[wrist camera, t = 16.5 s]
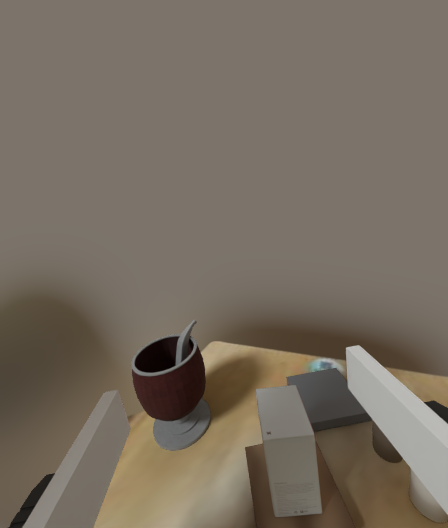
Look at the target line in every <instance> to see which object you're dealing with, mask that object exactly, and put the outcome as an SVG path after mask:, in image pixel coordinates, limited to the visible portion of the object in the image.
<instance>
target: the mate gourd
mask: <svg viewBox="0 0 448 528" xmlns="http://www.w3.org/2000/svg"><path fill="white" fill-rule="evenodd" d="M194 324H196V321H195V320H193V321H192V322H191V323H190V324H189V325H188V326H187V328H186V329H185V330H184V331H183V332H182V334H174V335H168V336H165V337H161V338H158V339H156V340H154V341H152V342H150V343H148V344H147V345H145V346H144V347H143V348H141V349H140V350H139V351H138V352H137V353H136V354H135V356H134V357H133V360H132V363H131V365H132V376H133V383H134V387H135V391H136V394H137V397H138V399H139V401H140V403H141V405H142V406H143V408H144V410H145V411H146V412H147V414H148V415H149V416H151V417H152V418H155V419H156V420H155V422H154V427H153V434H154V437H155V440H156V442H157V444H158V445H159V446H160V447H161V448H164V449H166V450H171V451H174V450H181V449H184V448H187V447H189V446H191V445H192V444H194V443H195V442H197V441H198V440H199V439H200V438H201V437H202V436H203V434H204V433H205V432H206V430H207V428H208V426H209V423H210V418H211V413H210V408H209V405H208V403H207V402H206V401H205V400H204V399H203V398H202V396H203V394H204V390H205V382H206V381H205V367H204V362H203V358H202V355H201V353H200V350H199V348H198V346H197V343H196V340H195V339H194V338H193V337H191V336H190V333H191V331H192V327H193V326H194Z"/></svg>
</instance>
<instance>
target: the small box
mask: <svg viewBox="0 0 448 528" xmlns="http://www.w3.org/2000/svg"><path fill="white" fill-rule="evenodd" d="M256 396H257V405H258V413H259V420H260V426H261V433H262V439H263V446H264V452H265V458H266V465H267V472H268V478H269V485H270V491H271V497H272V504H273V509H274V515H275V517H287V516H299V515H310V514H321V513H322V504H321V494H320V484H319V474H318V464H317V454H316V443H315V434H314V431H313V428H312V426H311V423H310V420H309V418H308V415H307V412H306V410H305V407H304V404H303V402H302V399H301V397H300V394H299V391H298V389H297V386H296V385H290V386H281V387H272V388H262V389H256Z"/></svg>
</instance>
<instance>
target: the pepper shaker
mask: <svg viewBox="0 0 448 528" xmlns="http://www.w3.org/2000/svg"><path fill="white" fill-rule="evenodd" d="M372 432H373V448H374V450H375V451H376V453H377V454H378V455H379V456H380V457H381V458H383V459H384V460H386V461H389V462H392V463H398V462H400V461H401V460H402V459H403V458H402V456H401V455H400V454H399V452H398V451H397V450H396V449H395V447H394V446H393V445H392V444H391V442H390V441H389V440H388V438H387V437H386V436H385V435H384V433H383V432H382V431H381V430H380V428H379V427H378V426H377V424H376V423H375V422H374V421H373V419H372Z"/></svg>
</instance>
